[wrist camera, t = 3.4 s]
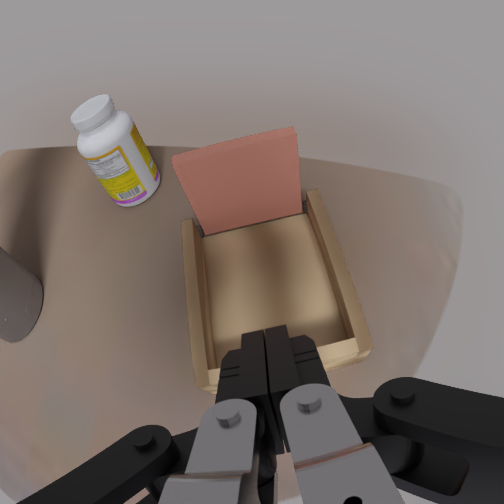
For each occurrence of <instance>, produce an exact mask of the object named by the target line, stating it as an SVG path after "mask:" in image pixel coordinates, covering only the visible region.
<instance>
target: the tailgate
mask: <svg viewBox="0 0 504 504" xmlns="http://www.w3.org/2000/svg"><path fill="white" fill-rule="evenodd" d="M172 166H173V168H174V170H175V172H176V174H177V176H178V179H179V181H180V183H181V185H182V187H183V189H184V191H185V193H186V195H187V198H188V200H189V202H190V204H191V206H192V208H193V210H194V212H195V214H196V216H197V218H198V220H199V222H200V225H201V227H202V229H203V231H204V233H205V235H209V234H213V233H217V232H221V231H225V230H229V229H233V228H237V227H242V226H246V225H250V224H254V223H259V222H263V221H267V220H271V219H276V218H280V217H284V216H289V215H293V214H297V213H302V200H301V185H300V171H299V158H298V146H297V134H296V132H295V130H294V128H293V127H288V128H283V129H278V130H273V131H268V132H264V133H259V134H255V135H250V136H246V137H242V138H237V139H233V140H229V141H225V142H221V143H217V144H213V145H210V146H206V147H202V148H198V149H195V150H191V151H188V152H184V153H181V154H177V155H174V156H172Z"/></svg>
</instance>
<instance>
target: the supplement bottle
mask: <svg viewBox="0 0 504 504" xmlns="http://www.w3.org/2000/svg"><path fill="white" fill-rule="evenodd" d="M70 120H71V122H72V124H73V126H74V128H75V129H76V130H78V131H79V132H80V134H79V136H78V140H77V148H78V150H79V152H80V154H81V155H82V157H83V158H84V159H85V161H86V162H87V164H88V165H89V167H90V168H91V170H92V171H93V172H94V174H95V175H96V177H97V178H98V180H99V181H100V182H101V184H102V185H103V187H104V188H105V189H106V191H107V192H108V194H109V195H110V196H111V198H112V199H113V200H114V201H115V202H116V203H117V204H118V205H120V206H124V207H130V206H135V205H138V204H140V203H142V202H144V201H146V200H147V199H148V198H149V197H150V196H151V195H152V194H153V193H154V192H155V191H156V189H157V188H158V186H159V183H160V173H159V170H158V168H157V166H156V165H155V163H154V161H153V159H152V157H151V155H150V153H149V151H148V149H147V147H146V145H145V143H144V142H143V140H142V138H141V136H140V134H139V132H138V130H137V128H136V126H135V124H134V122H133V120H132V118H131V117H130V115H129V114H128V113H127V112H125V111H122V110H114V103H113V101H112V99H111V98H110V96H109V95H108V94H102V95H98V96H95V97H93V98H91V99H89V100H87V101H86V102H84V103H83V104H81V105H80V106H79V107H78V108H77V109H76V110H75V111H74V112H73V114H72V116H71V118H70Z"/></svg>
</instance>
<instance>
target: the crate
mask: <svg viewBox="0 0 504 504" xmlns="http://www.w3.org/2000/svg"><path fill="white" fill-rule="evenodd" d="M306 198H307V201H304V202H302V204H303V209H304V212H305V214H300V215H296V216H291V217H287V218H283V219H278V220H274V221H270V222H265V223H261V224H257V225H253V226H248V227H244V228H240V229H236V230H232V231H228V232H223V233H219V234H215V235H211V236H207V237H204V233H203V229H202V227H201V226H198V227H196V225H195V223H194V221H193V219H188V220H184V221H181V228H182V247H183V262H184V277H185V290H186V302H187V313H188V323H189V333H190V343H191V352H192V361H193V369H194V378H195V386H196V387H198V388H200V389H203V390H205V391H207V392H210V393H212V394H217V387H218V381H219V374H220V367H221V361H222V359H223V358H224V356H225V355H226V354H227V353H228V351H230V350H235V349H241V335H242V334H243V333H248V332H253V331H257V330H262V329H263V330H264V333H265V329H266V328H271V327H275V326H280V325H284V324H286V326H287V330H288V335H289V338H292V337H296V336H301V335H306V336H308V337H309V338H311V339H312V340H314V342H315V345H316V348H317V351H318V353H319V356H320V358H321V361H322V364H323V367H324V369H325V371H329V370H333V369H337V368H340V367H344V366H347V365H351V364H354V363H358V362H361V361H363V360H364V359H365V357H366V356H367V355H368V353H369V352H370V351H371V349H372V348H373V344H372V341H371V338H370V334H369V331H368V328H367V325H366V322H365V318H364V315H363V312H362V309H361V306H360V303H359V300H358V297H357V294H356V291H355V288H354V285H353V282H352V279H351V276H350V274H349V271H348V268H347V265H346V262H345V259H344V257H343V254H342V251H341V248H340V246H339V243H338V240H337V238H336V235H335V232H334V230H333V227H332V225H331V222H330V219H329V217H328V214H327V212H326V209H325V207H324V204H323V202H322V199H321V197H320V194H319V192H318V189H315V190H310V191H306Z"/></svg>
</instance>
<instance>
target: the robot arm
mask: <svg viewBox="0 0 504 504" xmlns="http://www.w3.org/2000/svg"><path fill="white" fill-rule="evenodd" d="M42 298H43V292H42V286H41V283H40V281H39V279H38V278H37V277H36V276H35V275H33V274H32V273H31V272H30V271H28V270H27V269H26V268H25V267H23V266H22V265H21V264H20V263H19V262H17V261H16V260H15V259H14V258H13V257H12V256H10V255H9V254H8V253H7V252H6V251H5V250H3V249H2V248H1V247H0V338H1V339H3V340H5V341H8V342H17V341H19V340H21V339H22V338H24V337H25V336H26V335H27V334H28V333H29V332H30V331H31V329H32V328H33V326H34V325H35V323H36V320H37V318H38V316H39V313H40V310H41V305H42ZM283 440H284V443H283ZM284 444H285V447H286V451H287V453H288V452H291V455H292V459H293V463H294V468H295V472H296V476H297V480H298V484H299V488H300V492H301V496H302V499H303V504H405V502H404V501H403V499H402V497H401V495H400V493H399V491H398V490H397V488H399V489H401V490H403V491H406V492H408V493H411V494H413V495H416V496H419V497H421V498H424V499H427V500H429V501H432V502H435V503H438V504H504V398H502V397H497V396H492V395H487V394H482V393H477V392H473V391H468V390H464V389H459V388H454V387H451V386H446V385H442V384H438V383H434V382H430V381H426V380H422V379H417V378H413V377H401V378H396V379H392V380H390V381H387V382H385V383H384V384H382V385H381V386H380V387H379V388H378V389H377V390H376V391H375V393H374V396H373V397H371V398H348V397H344V396H342V395H339V394H338V393H337V392H336V391H335V390H334V389H333V388H332V387H331V386H330V383H329V380H328V377H327V375H326V372H325V369H324V367H323V364H322V361H321V358H320V356H319V353H318V351H317V348H316V345H315V342H314V340H312V339H311V338H309V337H308V336H306V335H301V336H296V337H292V338H289V335H288V330H287V326H286V324H284V325H280V326H275V327H271V328H266V329H265V333H264V330H263V329H262V330H257V331H253V332H248V333H243V334H242V335H241V349H235V350H230V351H228V353H227V354H226V355H225V356H224V358H223V359H222V361H221V367H220V374H219V381H218V387H217V394H216V401H215V405H213V406H211V407H210V408H209V409H207V410H206V411H205V413H204V414H203V415H202V418H201V421H200V424H199V427H198V428H196V429H193V430H191V431H188V432H185V433H181V434H178V435H175V436H171V434H170V432H169V431H168V430H167V429H166V428H165V427H162V426H159V425H146V426H142V427H139V428H137V429H135V430H133V431H131V432H130V433H128V434H127V435H125V436H124V437H122V438H121V439H120V440H118V441H117V442H115V443H114V444H112V445H111V446H109V447H108V448H106V449H105V450H103V451H102V452H100V453H99V454H97V455H96V456H94V457H93V458H91V459H89V460H88V461H86V462H85V463H83V464H82V465H80V466H79V467H77V468H75V469H74V470H72V471H71V472H69V473H67V474H66V475H64V476H63V477H61V478H59V479H58V480H56V481H54V482H53V483H51V484H49V485H48V486H46V487H44V488H43V489H41V490H39V491H38V492H36V493H34V494H32V495H31V496H29V497H27V498H25V499H24V500H22V501H20V502H18V503H16V504H123V503H125V502H126V501H127V500H129V499H130V498H131V497H133V496H134V495H136V494H137V493H138V492H140V491H141V490H142V489H144V488H146V489H147V490H148V492H149V493H150V494H148V495H147V496H146V497H144V498H143V499H142V500H140V501H139V502H138V503H136V504H277V503H278V474H277V471H276V468H277V462H276V455H278V454H284V453H285V451H284Z"/></svg>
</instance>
